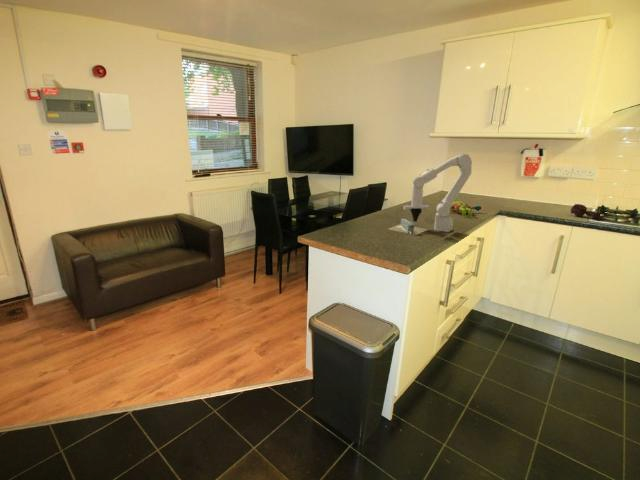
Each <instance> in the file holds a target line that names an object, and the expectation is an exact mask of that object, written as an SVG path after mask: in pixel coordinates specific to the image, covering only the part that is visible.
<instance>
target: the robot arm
mask: <svg viewBox="0 0 640 480" xmlns="http://www.w3.org/2000/svg"><path fill="white" fill-rule="evenodd" d="M472 163H473V161H472V158H471V157H470V155H469V154H466V153H463V152H462V153H458V154H457V155H455V156H452V157H451V158H449V159H447V160H446V161H444V162H442V163H441V164H440V165H438V166H437V167H436V168H426V171H425V172H423V173H420V174H419V176H415V178H413V181H412V184H413V186H412V191H411V202H410V203H411V204H410V205H406V204H405V205H403V208H402V209H403V210H405V211H406V210H410V213H411V215H412V220H413V221H412V222H413V223H415V222H416V223H417V221H418V218H419V217H420V215H421V213H422V210H430V205H428V204H425V205H424V204H423V196H424V195H423V193H424V186H425V184H427V183H430V182H431V181H433V180H435V178H437V177H438V174H440V173H442V172H443V171H445V170H448V169H449V168H450V167H451V168H452V167H458V168H459V172H460V174H459V175H458V176H457V177H456V180H455V181H454V183H453V184H452V186H451V188H450V189H449V190H448V191H447V192H448V193H447V194H446V195H445V197H444V198H443V199H442V200H441V201H440V202H439V203H438V204H436V207H435V210H436V213H435V217H434V226H433V229H434V230H435V231H439V232H445V233H446V232H447V233H449V232H451V231H453V225H454V224H453V223H454V218H453V217H452V216H450V215H449V214H450V211H451V210H450V208H451V207H452V203H453V202H455V200H456V198H457V197H458V195H459V193H460V192H461V190H462V189H463V187H464V185H465V184H466V182H467V181H468V179H469V178H470V176H471V174H472Z"/></svg>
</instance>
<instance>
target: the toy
mask: <svg viewBox="0 0 640 480" xmlns="http://www.w3.org/2000/svg"><path fill="white" fill-rule="evenodd" d="M473 210H475V211H478V212H479V211H480V210H482V206H481V205H476V206H471V205H468V203H466V202H463V201H457V200H456V201H455V200H454V201H453V203H452V207H451V208H450V211H453V212H456V213H458V214H460V215H461V217H462V218H463V217H464V218H465V217H468V218H471V217H472V218H473ZM467 213H468V214H467Z"/></svg>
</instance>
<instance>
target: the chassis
mask: <svg viewBox="0 0 640 480" xmlns="http://www.w3.org/2000/svg"><path fill="white" fill-rule="evenodd" d="M398 226H401V223H399V224H396V225H395V226H392V227H388V230H391V231H396V232H400V233H405V234H409V235H414V236H415V235H416V236H417V235H420V234H421V233H424V232H426V231H428V230H429V229H428V228H422V227H418V226H411V227H410V232H409V231H404V230H402V229H401V228H396V227H398Z"/></svg>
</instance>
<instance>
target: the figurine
mask: <svg viewBox="0 0 640 480" xmlns="http://www.w3.org/2000/svg"><path fill="white" fill-rule="evenodd" d="M570 213H571V214H572V215H574V216H575V217H577V218H579V217H580V218H582V217H584V215H585V216H587V217H589V218H592V219H594V220H595V221H601V220H603V219H604V218H605V214H602V215H601V213H599V212H597V211H594V210H593V211H592V210H588V208H587V207H586V205H584V204H580V203H575V204H574V205H573V206H571V208H570Z"/></svg>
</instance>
